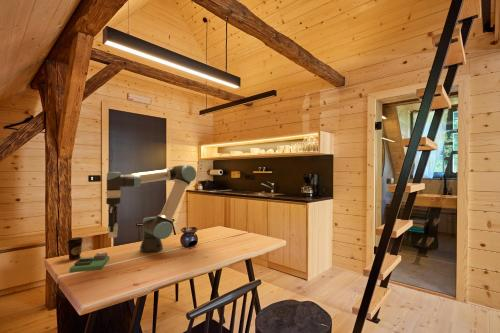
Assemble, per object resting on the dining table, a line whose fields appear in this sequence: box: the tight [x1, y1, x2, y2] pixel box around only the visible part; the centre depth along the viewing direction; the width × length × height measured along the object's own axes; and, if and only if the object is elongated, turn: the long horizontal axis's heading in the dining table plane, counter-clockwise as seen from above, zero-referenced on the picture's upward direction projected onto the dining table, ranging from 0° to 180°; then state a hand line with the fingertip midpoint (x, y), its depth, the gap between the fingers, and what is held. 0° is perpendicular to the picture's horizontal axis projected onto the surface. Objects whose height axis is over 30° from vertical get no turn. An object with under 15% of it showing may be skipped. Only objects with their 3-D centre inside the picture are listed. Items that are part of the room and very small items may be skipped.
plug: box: [107, 221, 119, 239], centre depth 160 cm, size 4×4×8 cm
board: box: [69, 252, 110, 273], centre depth 159 cm, size 16×18×5 cm
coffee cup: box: [66, 236, 84, 261], centre depth 170 cm, size 9×8×13 cm
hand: (112, 236), depth 160 cm, fingers closed on plug, 4 cm apart
